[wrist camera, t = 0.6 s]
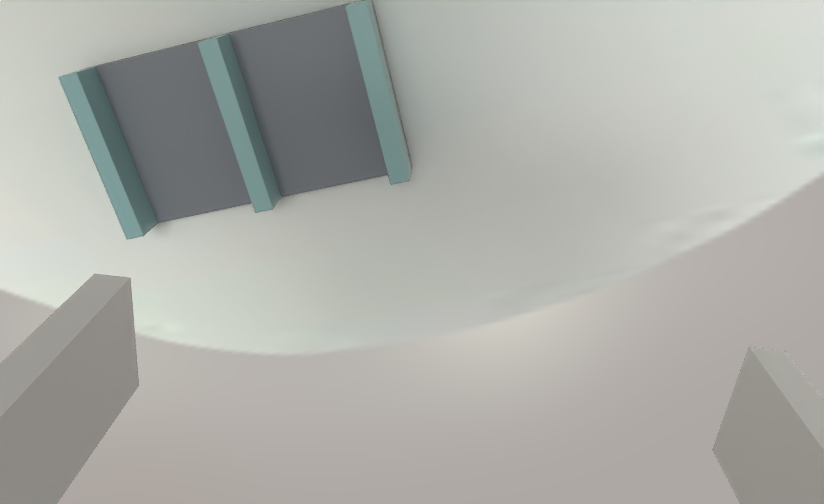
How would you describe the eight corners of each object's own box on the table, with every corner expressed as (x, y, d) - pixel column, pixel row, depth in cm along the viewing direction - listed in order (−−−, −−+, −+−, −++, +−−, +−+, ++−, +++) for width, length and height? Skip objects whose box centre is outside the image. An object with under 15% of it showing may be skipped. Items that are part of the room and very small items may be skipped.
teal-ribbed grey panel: (83, 68, 37) (58, 77, 35) (371, -3, 35) (365, 1, 33) (145, 222, 41) (126, 239, 38) (412, 166, 38) (409, 180, 36)
